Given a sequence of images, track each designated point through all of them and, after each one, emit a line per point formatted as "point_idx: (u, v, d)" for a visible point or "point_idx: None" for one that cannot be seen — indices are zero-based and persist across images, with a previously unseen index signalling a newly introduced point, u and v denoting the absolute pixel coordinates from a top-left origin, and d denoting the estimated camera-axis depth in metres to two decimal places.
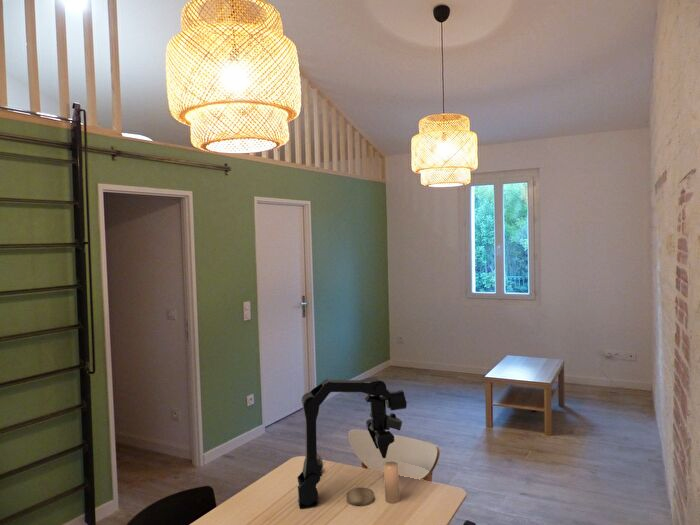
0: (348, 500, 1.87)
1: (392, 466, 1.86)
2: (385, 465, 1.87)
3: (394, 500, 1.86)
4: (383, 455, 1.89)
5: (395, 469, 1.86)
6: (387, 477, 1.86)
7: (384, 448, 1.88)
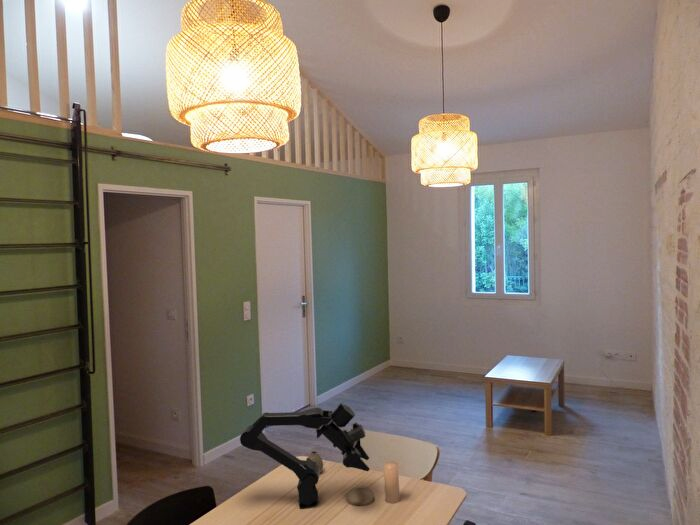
0: (348, 500, 1.87)
1: (392, 466, 1.86)
2: (385, 465, 1.87)
3: (394, 500, 1.86)
4: (365, 469, 1.83)
5: (395, 469, 1.86)
6: (387, 477, 1.86)
7: (360, 464, 1.82)
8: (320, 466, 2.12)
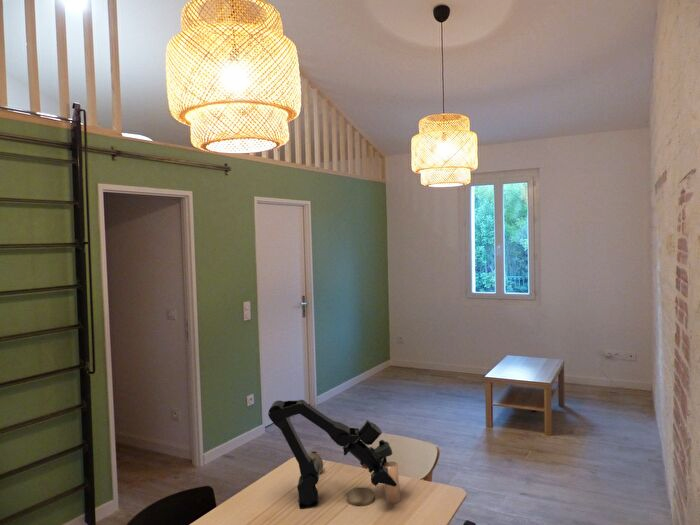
0: (348, 500, 1.87)
1: (392, 466, 1.86)
2: (385, 465, 1.87)
3: (394, 500, 1.86)
4: (392, 484, 1.85)
5: (395, 469, 1.86)
6: None
7: (387, 479, 1.84)
8: (320, 466, 2.12)
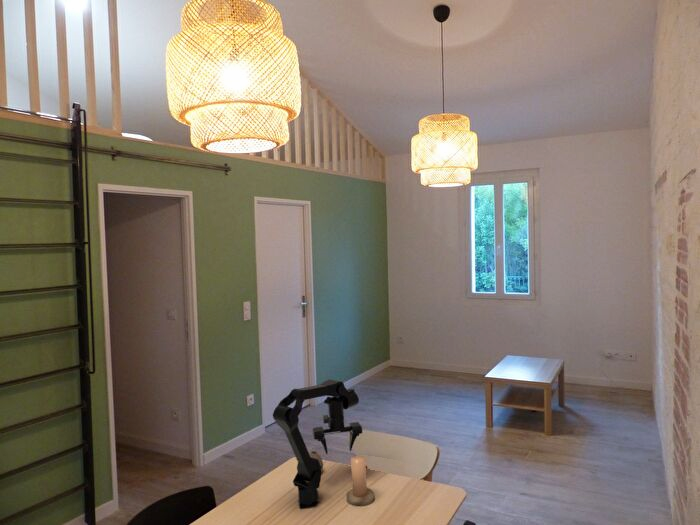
0: (348, 500, 1.87)
1: (359, 460, 1.88)
2: (352, 459, 1.89)
3: (361, 494, 1.88)
4: None
5: (362, 463, 1.88)
6: (354, 471, 1.88)
7: None
8: None
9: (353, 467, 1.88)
